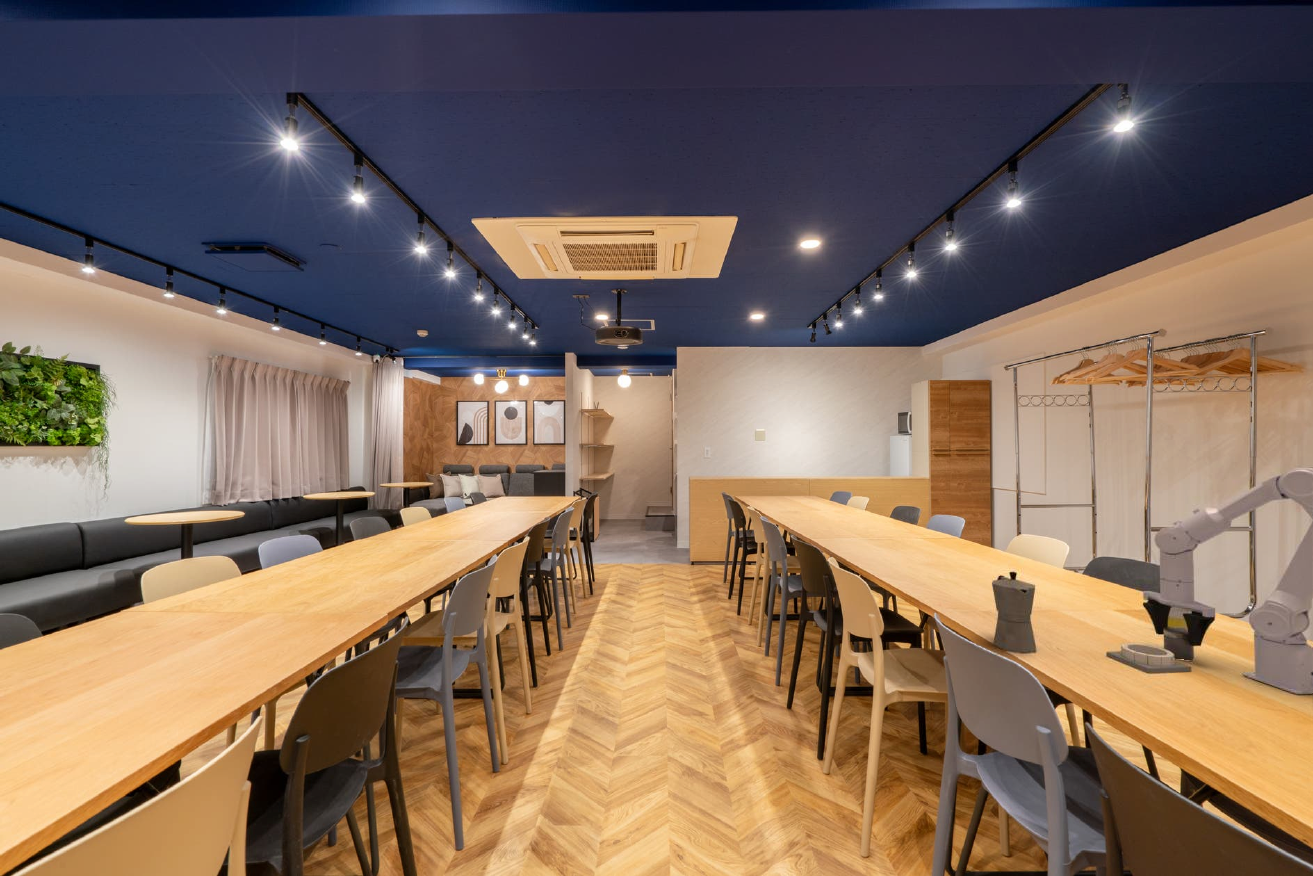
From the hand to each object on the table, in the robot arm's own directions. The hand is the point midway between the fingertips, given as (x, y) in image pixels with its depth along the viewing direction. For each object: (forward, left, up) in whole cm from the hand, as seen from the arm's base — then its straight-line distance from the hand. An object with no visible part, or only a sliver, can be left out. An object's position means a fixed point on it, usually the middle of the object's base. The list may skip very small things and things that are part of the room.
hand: (1177, 639), depth 128 cm
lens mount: (-3, +11, -4) cm, 12 cm away
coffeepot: (+11, +32, -4) cm, 34 cm away
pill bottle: (+15, -16, -4) cm, 22 cm away
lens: (0, 0, -4) cm, 4 cm away
